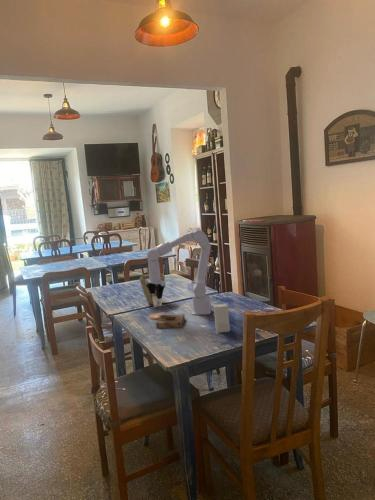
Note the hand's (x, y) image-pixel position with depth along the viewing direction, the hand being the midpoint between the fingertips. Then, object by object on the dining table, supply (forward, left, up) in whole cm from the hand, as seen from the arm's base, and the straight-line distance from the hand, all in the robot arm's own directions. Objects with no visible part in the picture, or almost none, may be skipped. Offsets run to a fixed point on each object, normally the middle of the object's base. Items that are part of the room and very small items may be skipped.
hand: (156, 297), depth 198 cm
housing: (-9, +11, -10) cm, 17 cm away
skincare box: (-35, +23, -11) cm, 43 cm away
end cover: (-1, +1, -4) cm, 4 cm away
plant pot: (+8, -27, -11) cm, 30 cm away
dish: (0, 0, -10) cm, 10 cm away
